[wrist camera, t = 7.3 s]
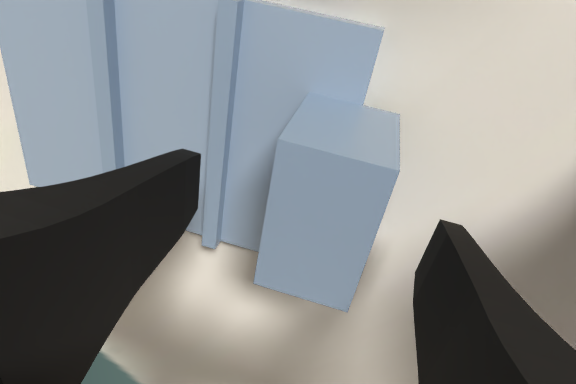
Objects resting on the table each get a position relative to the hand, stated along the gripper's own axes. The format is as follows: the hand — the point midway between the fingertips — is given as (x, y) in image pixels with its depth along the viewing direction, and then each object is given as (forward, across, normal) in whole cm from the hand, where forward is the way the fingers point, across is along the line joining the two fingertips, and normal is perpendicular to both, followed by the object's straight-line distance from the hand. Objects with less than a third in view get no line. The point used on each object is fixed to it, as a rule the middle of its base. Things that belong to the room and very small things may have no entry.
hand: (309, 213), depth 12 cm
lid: (+4, +6, 0) cm, 7 cm away
